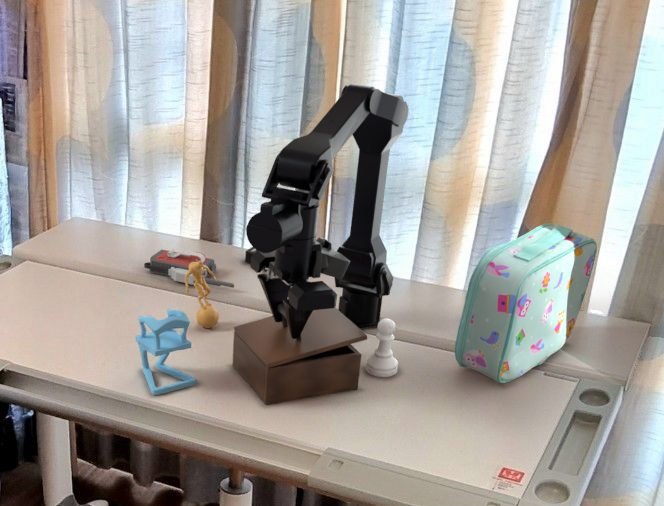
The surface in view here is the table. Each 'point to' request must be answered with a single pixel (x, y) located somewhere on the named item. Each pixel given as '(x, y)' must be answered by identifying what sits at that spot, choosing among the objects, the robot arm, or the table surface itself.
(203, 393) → the table surface
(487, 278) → the lunch box
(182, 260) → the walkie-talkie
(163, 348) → the chair
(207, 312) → the figurine
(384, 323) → the chess pawn
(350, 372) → the chest
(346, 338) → the lid
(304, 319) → the robot arm
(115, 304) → the table surface
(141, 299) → the table surface
